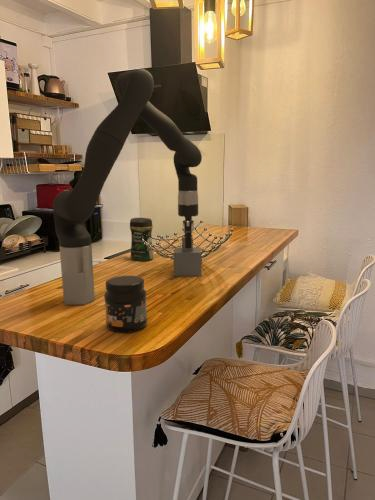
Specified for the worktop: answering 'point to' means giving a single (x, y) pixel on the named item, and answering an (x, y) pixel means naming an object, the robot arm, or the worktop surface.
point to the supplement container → (125, 303)
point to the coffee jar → (137, 245)
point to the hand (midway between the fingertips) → (188, 245)
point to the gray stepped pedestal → (187, 260)
